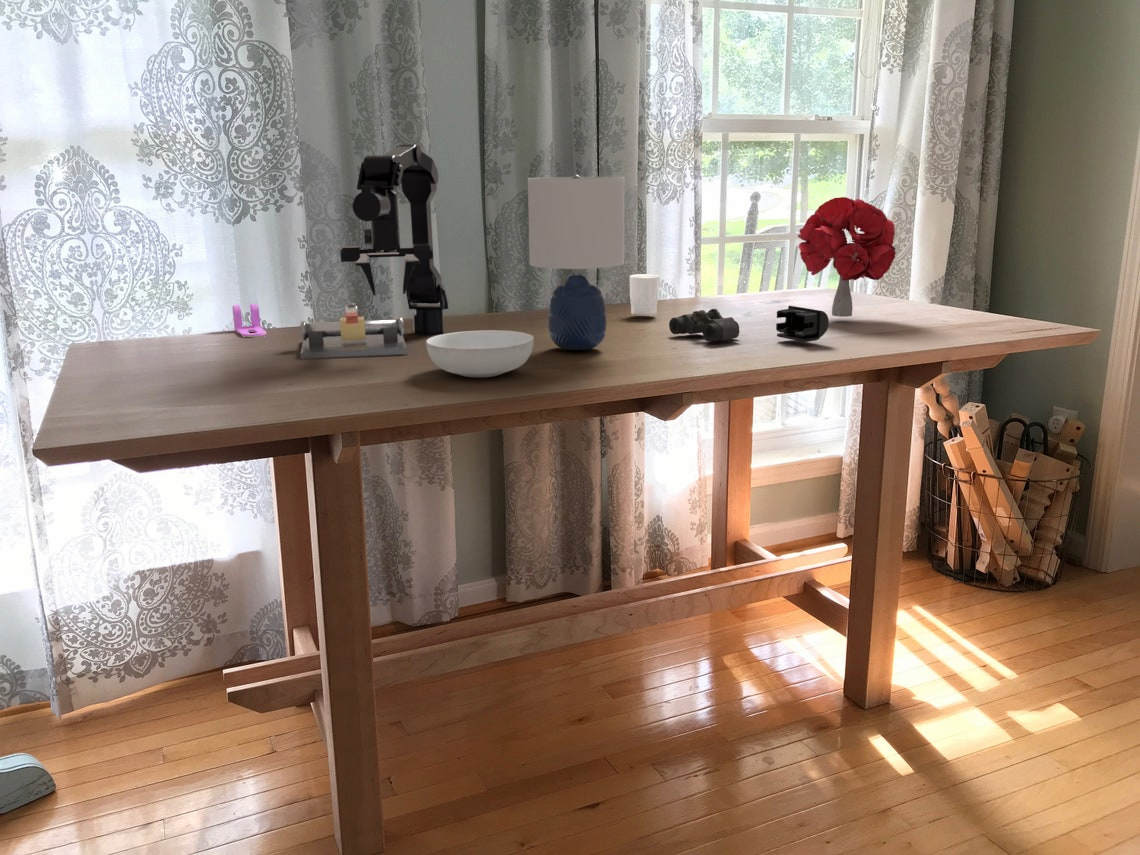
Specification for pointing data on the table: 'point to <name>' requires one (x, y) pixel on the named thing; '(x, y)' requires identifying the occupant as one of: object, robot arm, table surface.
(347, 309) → the lever
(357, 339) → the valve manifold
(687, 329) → the binoculars
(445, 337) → the serving bowl
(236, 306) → the bracket
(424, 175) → the robot arm
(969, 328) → the table surface
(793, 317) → the end cap
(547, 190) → the lamp
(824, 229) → the bouquet
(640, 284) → the white cup
